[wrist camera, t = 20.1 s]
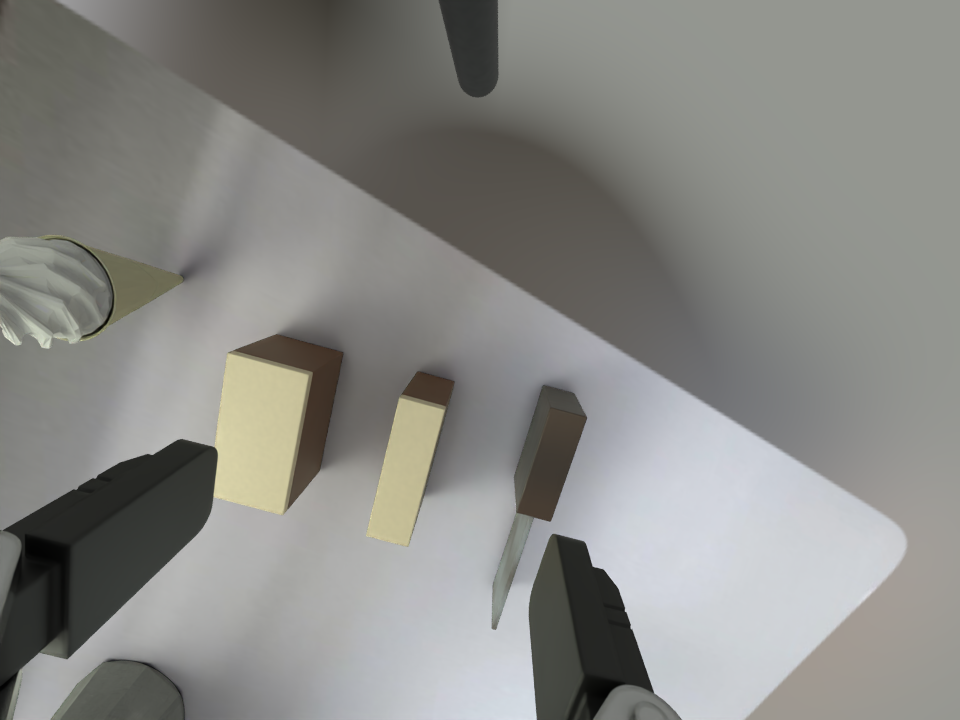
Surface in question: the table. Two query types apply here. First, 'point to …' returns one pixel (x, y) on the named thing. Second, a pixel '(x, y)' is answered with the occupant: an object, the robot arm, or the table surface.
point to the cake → (273, 421)
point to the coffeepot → (123, 695)
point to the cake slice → (409, 458)
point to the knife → (539, 478)
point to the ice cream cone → (70, 288)
